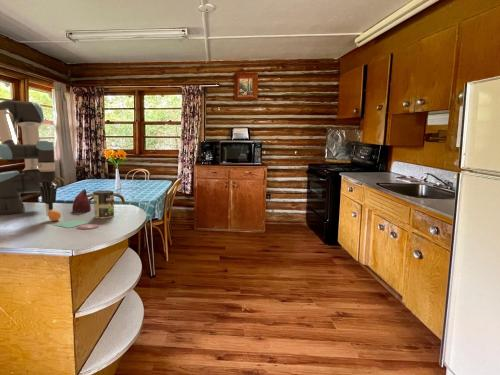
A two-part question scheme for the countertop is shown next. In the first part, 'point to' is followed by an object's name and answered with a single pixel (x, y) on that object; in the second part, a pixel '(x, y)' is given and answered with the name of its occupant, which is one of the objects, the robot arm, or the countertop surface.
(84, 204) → the vegetable
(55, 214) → the ball
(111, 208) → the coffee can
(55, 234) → the countertop surface
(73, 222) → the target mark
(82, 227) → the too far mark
